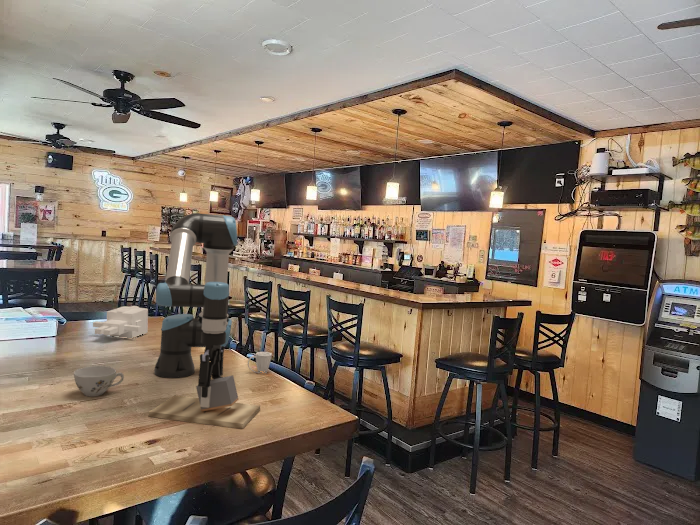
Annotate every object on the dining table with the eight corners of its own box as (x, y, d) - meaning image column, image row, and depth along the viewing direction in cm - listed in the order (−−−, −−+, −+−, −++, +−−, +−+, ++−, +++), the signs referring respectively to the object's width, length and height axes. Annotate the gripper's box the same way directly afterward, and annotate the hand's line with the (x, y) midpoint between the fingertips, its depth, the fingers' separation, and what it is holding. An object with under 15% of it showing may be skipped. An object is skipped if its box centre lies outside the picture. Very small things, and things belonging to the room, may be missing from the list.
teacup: (71, 401, 148) (72, 377, 148) (73, 389, 159) (74, 366, 159) (123, 397, 155) (124, 374, 155) (122, 386, 166) (123, 364, 166)
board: (148, 416, 141) (148, 411, 141) (174, 399, 157) (174, 395, 157) (242, 428, 137) (243, 423, 137) (260, 410, 153) (260, 405, 153)
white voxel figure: (78, 344, 226) (115, 330, 254) (125, 349, 223) (157, 334, 251) (78, 314, 225) (115, 303, 252) (126, 319, 221) (158, 307, 249)
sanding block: (201, 411, 144) (196, 386, 144) (209, 405, 150) (204, 380, 150) (231, 405, 143) (226, 380, 143) (238, 399, 149) (233, 375, 149)
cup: (272, 374, 194) (274, 355, 194) (248, 375, 190) (250, 356, 190) (268, 369, 201) (270, 351, 200) (245, 370, 197) (246, 352, 197)
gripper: (213, 338, 136) (208, 415, 137) (236, 327, 155) (231, 395, 156) (188, 335, 137) (184, 412, 138) (214, 325, 156) (210, 392, 157)
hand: (209, 403), depth 147 cm, fingers closed on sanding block, 6 cm apart
